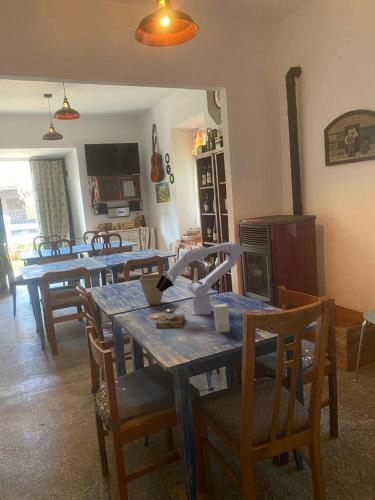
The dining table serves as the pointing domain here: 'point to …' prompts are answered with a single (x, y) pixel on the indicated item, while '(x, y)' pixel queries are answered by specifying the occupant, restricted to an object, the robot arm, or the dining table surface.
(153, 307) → the dining table surface
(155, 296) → the plant pot
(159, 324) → the housing
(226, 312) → the skincare box
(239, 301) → the dining table surface
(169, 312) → the end cover
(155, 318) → the dish
